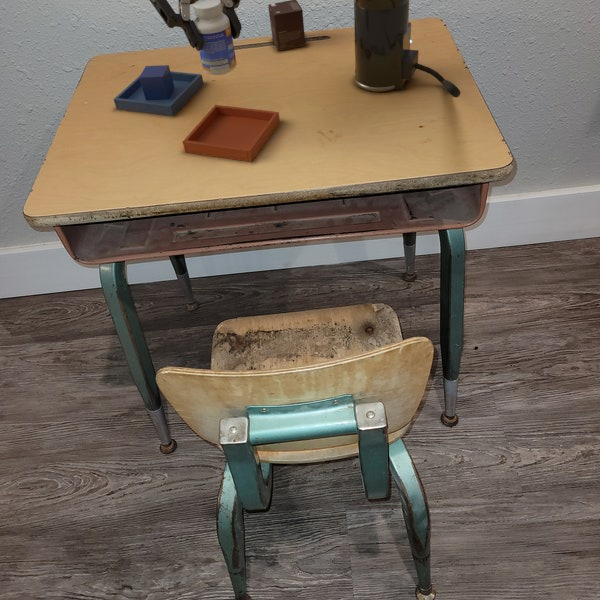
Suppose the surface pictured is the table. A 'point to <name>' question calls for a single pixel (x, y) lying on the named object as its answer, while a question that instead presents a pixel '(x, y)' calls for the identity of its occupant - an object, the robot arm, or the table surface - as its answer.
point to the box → (287, 24)
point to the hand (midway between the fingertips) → (219, 41)
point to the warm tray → (232, 132)
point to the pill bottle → (214, 38)
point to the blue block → (157, 82)
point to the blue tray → (182, 92)
